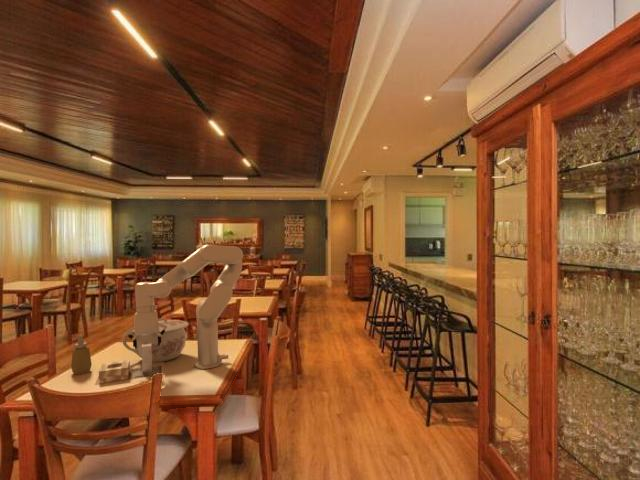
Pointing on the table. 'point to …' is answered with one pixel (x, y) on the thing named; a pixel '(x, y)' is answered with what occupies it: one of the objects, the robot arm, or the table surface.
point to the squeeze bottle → (81, 358)
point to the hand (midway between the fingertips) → (147, 346)
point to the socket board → (122, 372)
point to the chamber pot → (162, 341)
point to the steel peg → (146, 358)
